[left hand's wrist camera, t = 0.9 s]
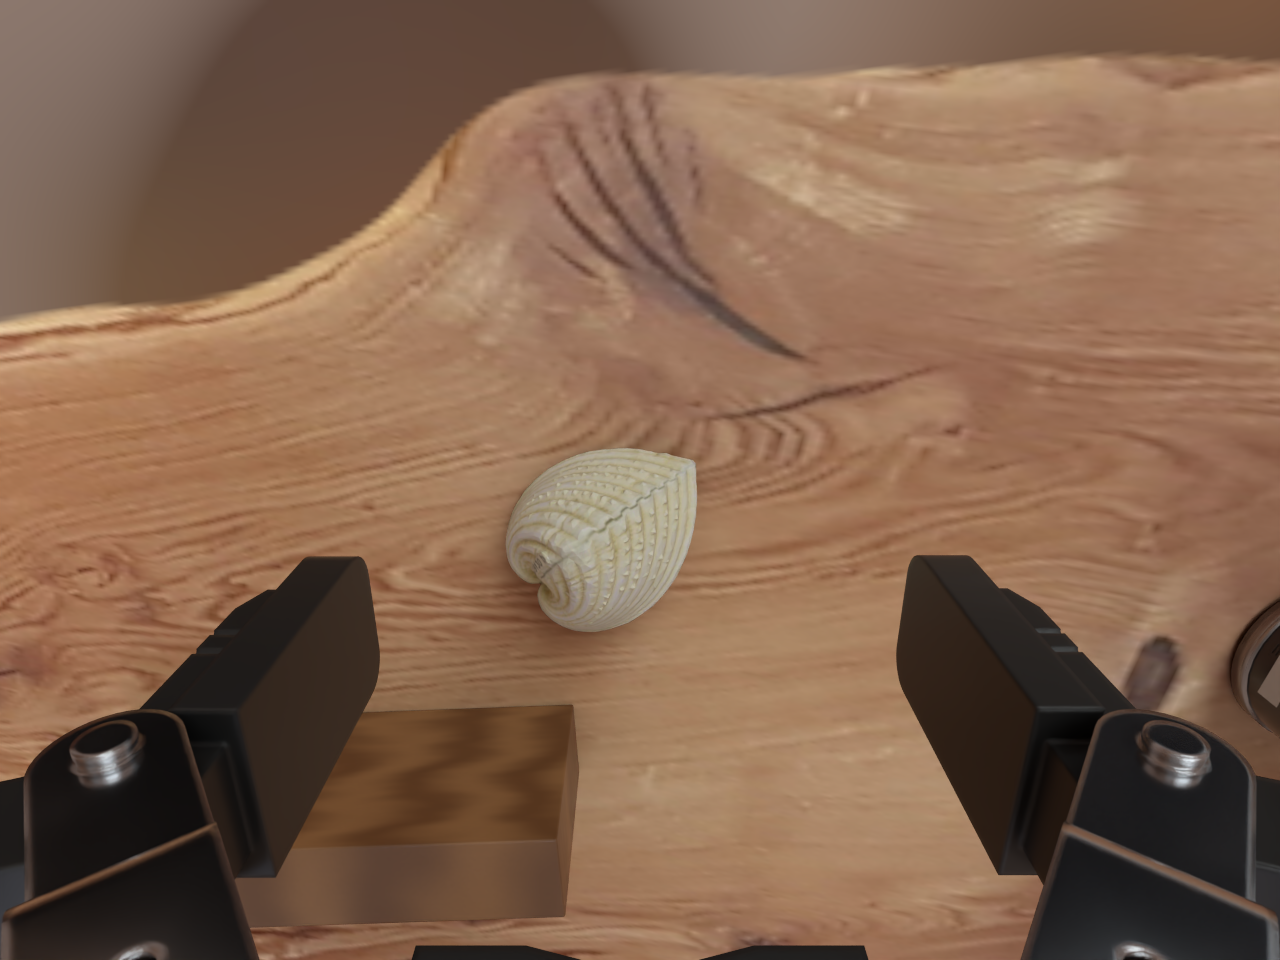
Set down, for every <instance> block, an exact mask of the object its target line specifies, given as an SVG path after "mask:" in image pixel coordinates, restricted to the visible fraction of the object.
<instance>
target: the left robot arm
mask: <svg viewBox="0 0 1280 960" xmlns="http://www.w3.org/2000/svg"><path fill="white" fill-rule="evenodd" d="M1060 630H1061V629H1060V628H1059V627H1058V626H1057V625H1056V624H1055V623H1054V622H1053V621H1052V620H1051V618H1050V617H1049V616H1048V615H1047V614H1046V613H1045V612H1044V611H1043V610H1042V609H1041V608H1040V607H1039V606H1037V605H1035V604H1033V603H1032V602H1030V601H1028V600H1027V599H1025V598H1023V597H1021V596H1020V595H1018V594H1016V593H1015V592H1013V591H1011V590H1009V589H1008V588H998V587H997V586H996V584H995V583H994V582H993V581H992V580H991V579H990V578H989V577H988V575H987V574H986V573H985V572H984V571H983V570H982V569H981V568H980V566H979V565H978V564H977V563H976V562H975V561H974V560H973V559H972V558H971V557H970V556H967V555H917V556H914V557H913V558H912V560H911V562H910V564H909V568H908V572H907V579H906V586H905V593H904V600H903V607H902V614H901V621H900V628H899V635H898V642H897V652H896V660H897V671H898V676H899V681H900V684H901V687H902V690H903V692H904V694H905V696H906V698H907V700H908V702H909V704H910V706H911V707H912V709H913V711H914V713H915V715H916V717H917V719H918V721H919V723H920V725H921V727H922V729H923V731H924V732H925V734H926V736H927V738H928V740H929V742H930V744H931V746H932V748H933V750H934V752H935V754H936V756H937V758H938V759H939V761H940V763H941V765H942V767H943V769H944V771H945V773H946V775H947V777H948V779H949V781H950V783H951V785H952V786H953V788H954V790H955V792H956V794H957V796H958V798H959V800H960V802H961V804H962V806H963V808H964V810H965V812H966V813H967V815H968V817H969V819H970V821H971V823H972V825H973V827H974V829H975V831H976V833H977V835H978V837H979V839H980V840H981V842H982V844H983V846H984V848H985V850H986V852H987V854H988V856H989V858H990V860H991V862H992V864H993V866H994V867H995V869H996V871H997V873H998V875H1038V876H1039V878H1040V880H1041V882H1042V883H1043V885H1044V886H1043V889H1042V892H1041V896H1040V899H1039V902H1038V905H1037V908H1036V912H1035V915H1034V918H1033V921H1032V925H1031V928H1030V931H1029V934H1028V937H1027V941H1026V944H1025V947H1024V950H1023V954H1022V957H1021V960H1280V781H1279V780H1274V779H1269V778H1265V777H1260V776H1255V773H1254V771H1253V769H1252V767H1251V765H1250V764H1249V763H1248V761H1247V760H1246V759H1245V758H1244V757H1243V756H1242V755H1241V754H1240V753H1239V752H1238V751H1237V750H1236V749H1235V748H1234V747H1232V746H1231V745H1230V744H1229V743H1227V742H1226V741H1224V740H1223V739H1221V738H1220V737H1218V736H1217V735H1215V734H1213V733H1212V732H1210V731H1208V730H1206V729H1204V728H1202V727H1200V726H1198V725H1196V724H1193V723H1191V722H1189V721H1186V720H1183V719H1181V718H1178V717H1175V716H1171V715H1168V714H1164V713H1159V712H1155V711H1149V710H1141V709H1136V708H1135V707H1134V706H1133V705H1132V704H1131V703H1130V702H1129V701H1128V700H1127V699H1126V698H1125V697H1124V696H1123V695H1122V694H1121V693H1120V691H1119V690H1118V689H1117V688H1116V687H1115V686H1114V685H1113V684H1112V683H1111V682H1110V681H1109V680H1108V679H1107V678H1106V677H1105V676H1104V675H1103V674H1102V672H1101V671H1100V670H1099V669H1098V668H1097V667H1096V666H1095V665H1094V664H1093V663H1092V662H1091V661H1090V660H1089V659H1088V658H1087V657H1086V656H1085V654H1084V653H1083V652H1078V647H1077V646H1076V645H1075V644H1074V643H1073V642H1072V641H1071V640H1070V639H1069V638H1068V636H1067V635H1066V634H1061V632H1060ZM379 663H380V651H379V643H378V636H377V629H376V622H375V615H374V608H373V601H372V594H371V588H370V581H369V574H368V569H367V566H366V563H365V561H364V560H363V559H362V558H361V557H306V558H305V559H303V560H302V561H301V562H300V564H299V565H298V566H297V567H296V568H295V569H294V570H293V571H292V573H291V574H290V575H289V576H288V577H287V578H286V579H285V580H284V581H283V583H282V584H281V585H280V586H279V587H278V588H277V589H276V590H266V591H265V592H263V593H261V594H260V595H258V596H256V597H254V598H253V599H251V600H249V601H247V602H246V603H244V604H242V605H241V606H239V607H237V608H235V609H234V610H233V611H232V612H231V614H230V615H229V616H228V617H227V618H226V619H225V620H224V621H223V622H222V623H221V624H220V625H219V626H218V627H217V628H216V629H215V630H214V635H210V636H209V637H208V638H207V639H206V640H205V641H204V642H203V643H202V644H201V645H200V646H199V647H198V648H197V652H196V654H191V655H190V657H189V658H188V659H187V660H186V661H185V662H184V663H183V664H182V665H181V666H180V667H179V668H178V669H177V670H176V671H175V672H174V673H173V674H172V675H171V676H170V677H169V679H168V680H167V681H166V682H165V683H164V684H163V685H162V686H161V687H160V688H159V689H158V690H157V691H156V692H155V693H154V694H153V695H152V696H151V697H150V698H149V700H148V701H147V702H146V703H145V704H144V705H143V706H142V707H141V708H140V709H139V710H131V711H125V712H121V713H116V714H112V715H109V716H105V717H102V718H99V719H97V720H94V721H91V722H89V723H87V724H84V725H82V726H80V727H78V728H76V729H74V730H72V731H70V732H68V733H67V734H65V735H63V736H62V737H60V738H59V739H57V740H56V741H54V742H53V743H51V744H50V745H49V746H48V747H46V748H45V749H44V750H43V751H42V752H41V753H40V754H39V755H38V756H37V757H36V758H35V759H34V760H33V761H32V763H31V764H30V765H29V767H28V769H27V771H26V773H25V776H24V777H20V778H16V779H11V780H6V781H1V782H0V960H259V957H258V954H257V950H256V947H255V944H254V941H253V937H252V934H251V931H250V928H249V925H248V921H247V918H246V915H245V912H244V908H243V905H242V902H241V899H240V896H239V892H238V889H237V886H236V883H235V879H236V878H276V876H277V874H278V872H279V871H280V869H281V867H282V865H283V863H284V861H285V859H286V857H287V855H288V853H289V852H290V850H291V848H292V846H293V844H294V842H295V840H296V838H297V836H298V834H299V832H300V831H301V829H302V827H303V825H304V823H305V821H306V819H307V817H308V815H309V813H310V812H311V810H312V808H313V806H314V804H315V802H316V800H317V798H318V796H319V794H320V792H321V791H322V789H323V787H324V785H325V783H326V781H327V779H328V777H329V775H330V773H331V772H332V770H333V768H334V766H335V764H336V762H337V760H338V758H339V756H340V754H341V752H342V751H343V749H344V747H345V745H346V743H347V741H348V739H349V737H350V735H351V733H352V732H353V730H354V728H355V726H356V724H357V722H358V720H359V718H360V716H361V714H362V713H363V711H364V709H365V707H366V705H367V703H368V701H369V699H370V697H371V695H372V693H373V691H374V689H375V686H376V682H377V678H378V673H379ZM1231 685H1232V689H1233V693H1234V695H1235V698H1236V700H1237V701H1238V703H1239V705H1240V706H1241V707H1242V708H1243V709H1244V710H1245V711H1246V712H1247V713H1248V714H1249V715H1250V716H1251V717H1252V718H1254V719H1255V720H1256V721H1257V722H1258V723H1259V724H1261V725H1262V726H1263V727H1264V728H1266V729H1267V730H1269V731H1271V732H1272V733H1274V734H1275V735H1276V736H1277V737H1279V738H1280V601H1279V602H1278V603H1276V604H1275V605H1274V606H1272V607H1271V608H1270V609H1268V610H1267V611H1266V612H1265V613H1264V614H1263V615H1262V616H1261V617H1260V618H1259V619H1258V620H1257V621H1256V622H1255V623H1254V624H1253V625H1252V626H1251V628H1250V629H1249V630H1248V631H1247V633H1246V634H1245V636H1244V637H1243V639H1242V641H1241V642H1240V644H1239V646H1238V648H1237V651H1236V653H1235V656H1234V659H1233V663H1232V668H1231ZM412 960H579V959H576V958H572V957H568V956H564V955H560V954H556V953H552V952H549V951H545V950H541V949H537V948H533V947H529V946H416V947H415V950H414V954H413V957H412ZM701 960H868V957H867V954H866V950H865V947H864V946H751V947H747V948H743V949H739V950H735V951H731V952H728V953H724V954H720V955H716V956H712V957H708V958H704V959H701Z"/></svg>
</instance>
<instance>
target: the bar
mask: <svg viewBox="0 0 1280 960" xmlns="http://www.w3.org/2000/svg"><path fill="white" fill-rule="evenodd" d="M578 777H579V766H578V755H577V743H576V732H575V721H574V709H573V705H556V706H529V707H502V708H475V709H448V710H421V711H394V712H367V713H362V714H361V716H360V718H359V720H358V722H357V724H356V726H355V728H354V730H353V732H352V733H351V735H350V737H349V739H348V741H347V743H346V745H345V747H344V749H343V751H342V752H341V754H340V756H339V758H338V760H337V762H336V764H335V766H334V768H333V770H332V772H331V773H330V775H329V777H328V779H327V781H326V783H325V785H324V787H323V789H322V791H321V792H320V794H319V796H318V798H317V800H316V802H315V804H314V806H313V808H312V810H311V812H310V813H309V815H308V817H307V819H306V821H305V823H304V825H303V827H302V829H301V831H300V832H299V834H298V836H297V838H296V840H295V842H294V844H293V846H292V848H291V850H290V852H289V853H288V855H287V857H286V859H285V861H284V863H283V865H282V867H281V869H280V871H279V872H278V874H277V876H276V878H236V879H235V883H236V886H237V889H238V892H239V896H240V899H241V902H242V905H243V908H244V912H245V915H246V918H247V921H248V925H249V928H253V927H282V926H311V925H341V924H370V923H399V922H428V921H457V920H486V919H516V918H545V917H564V916H565V912H566V902H567V891H568V881H569V870H570V860H571V850H572V839H573V829H574V818H575V808H576V797H577V787H578Z"/></svg>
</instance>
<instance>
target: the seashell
mask: <svg viewBox="0 0 1280 960" xmlns="http://www.w3.org/2000/svg"><path fill="white" fill-rule="evenodd" d="M696 507H697V485H696V463H695V462H694V461H693V460H690V459H686V458H681V457H677V456H672V455H670V454H667V453H655V452H652V451H645V450H642V449H631V448H616V449H603V450H597V451H589V452H585V453H582V454H578V455H576V456H573V457H571V458H569V459H566V460H564V461H562V462H560V463H558V464H556V465H554V466H553V467H551V468H549V469H548V470H546V471H545V472H544V473H542V474H541V475H540V476H539V477H538V478H537V479H536V480H534V481H533V482H532V483H531V484H530V486H529V487H528V488H527V489H526V490H525V491H524V493H523V494H522V496H521V498H520V499H519V501H518V502H517V504H516V506H515V508H514V510H513V512H512V515H511V518H510V521H509V524H508V529H507V534H506V545H505V547H506V554H507V558H508V561H509V564H510V566H511V568H512V569H513V570H514V572H515V573H516V574H517V575H518V576H519V577H520V578H521V579H522V580H524V581H526V582H528V583H532V584H536V583H540V584H541V585H540V587H539V589H538V594H537V596H538V601H539V604H540V607H541V609H542V610H543V612H544V613H545V614H546V615H547V616H548V617H549V618H550V619H551V620H552V621H554V622H556V623H557V624H559V625H560V626H563V627H565V628H568V629H571V630H575V631H582V632H598V631H603V630H608V629H611V628H615V627H618V626H621V625H623V624H626V623H628V622H630V621H632V620H634V619H635V618H637V617H638V616H640V615H641V614H642V613H644V612H645V611H647V610H648V609H649V608H651V607H652V606H653V605H654V604H655V603H656V602H657V601H658V600H659V599H660V598H661V597H662V596H663V595H664V593H665V592H666V591H667V590H668V588H669V587H670V586H671V584H672V583H673V581H674V580H675V578H676V576H677V574H678V572H679V570H680V568H681V566H682V564H683V562H684V560H685V557H686V555H687V552H688V549H689V546H690V542H691V538H692V534H693V530H694V524H695V518H696Z"/></svg>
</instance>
